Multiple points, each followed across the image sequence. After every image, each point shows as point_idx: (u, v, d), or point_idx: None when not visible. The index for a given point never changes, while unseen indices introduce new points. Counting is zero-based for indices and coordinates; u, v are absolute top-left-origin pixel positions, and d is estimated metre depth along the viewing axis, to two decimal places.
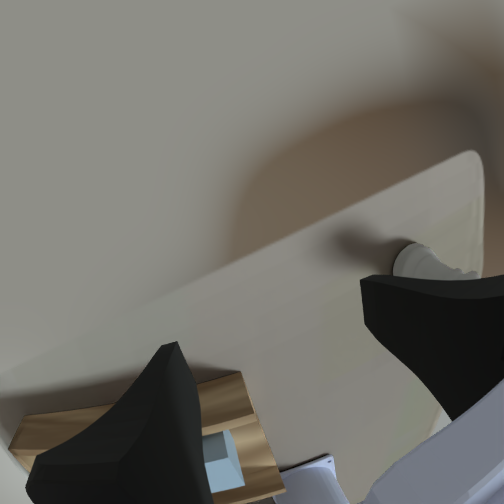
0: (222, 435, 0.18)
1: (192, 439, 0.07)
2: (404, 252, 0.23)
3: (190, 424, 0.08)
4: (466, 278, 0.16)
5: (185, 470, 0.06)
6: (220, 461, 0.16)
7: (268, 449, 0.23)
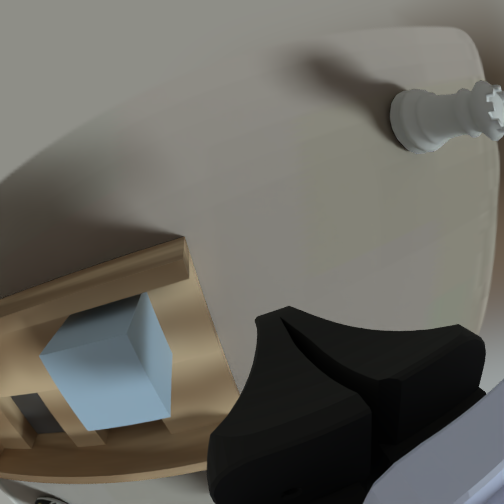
0: (133, 309, 0.11)
1: None
2: (400, 95, 0.16)
3: None
4: (481, 83, 0.10)
5: None
6: (114, 343, 0.09)
7: (229, 380, 0.16)
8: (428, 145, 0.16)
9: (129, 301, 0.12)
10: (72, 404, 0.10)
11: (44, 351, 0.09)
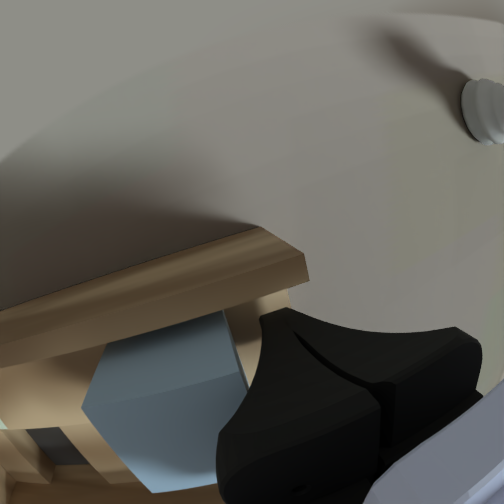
0: (223, 327, 0.08)
1: None
2: (470, 84, 0.13)
3: None
4: None
5: None
6: (217, 386, 0.06)
7: None
8: (500, 137, 0.13)
9: (206, 315, 0.09)
10: (133, 466, 0.06)
11: (88, 399, 0.06)
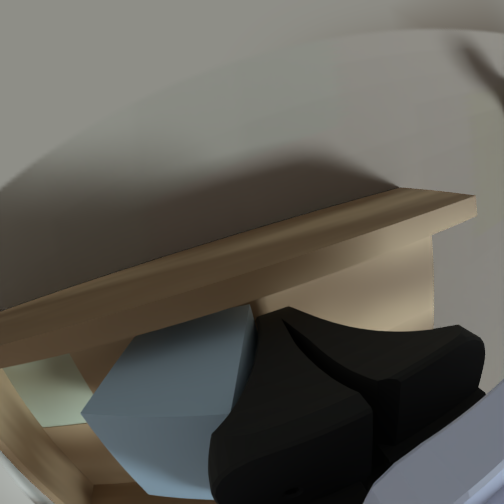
0: (237, 353, 0.07)
1: None
2: None
3: None
4: None
5: None
6: (207, 423, 0.06)
7: None
8: None
9: (227, 333, 0.09)
10: (129, 470, 0.07)
11: (89, 406, 0.06)
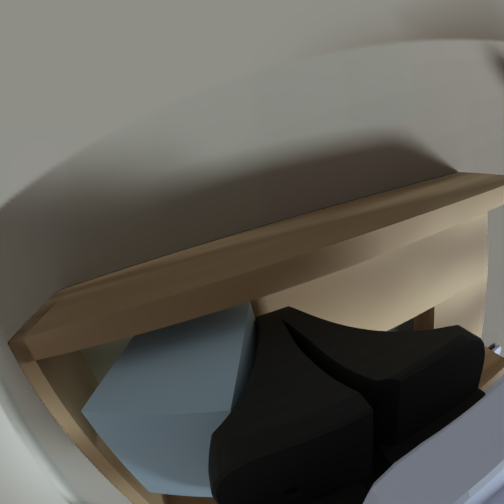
0: (237, 350, 0.07)
1: None
2: None
3: None
4: None
5: None
6: (207, 420, 0.06)
7: (484, 305, 0.15)
8: None
9: (227, 330, 0.09)
10: (130, 468, 0.07)
11: (90, 403, 0.06)
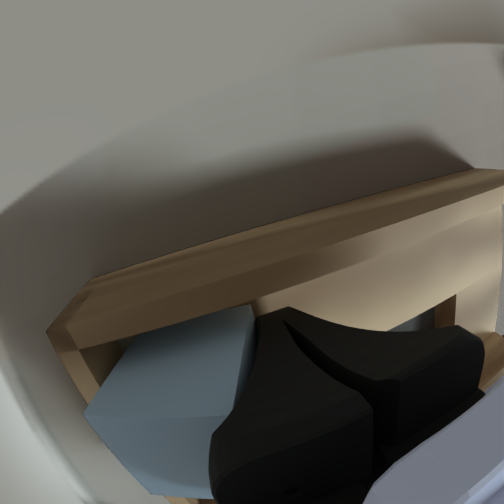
0: (238, 354, 0.07)
1: None
2: None
3: None
4: None
5: None
6: (208, 423, 0.06)
7: (498, 295, 0.15)
8: None
9: (228, 333, 0.09)
10: (131, 470, 0.07)
11: (91, 407, 0.06)
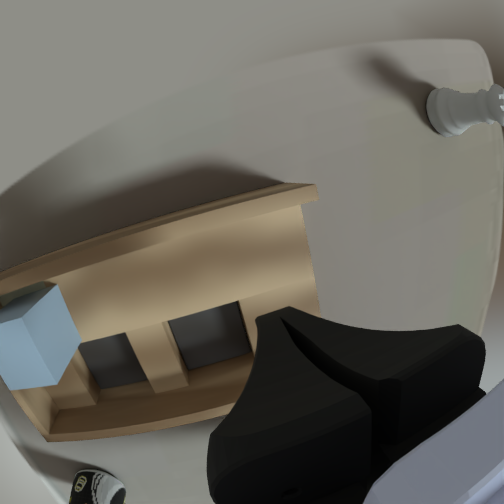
0: (37, 301, 0.13)
1: None
2: (434, 92, 0.20)
3: None
4: (495, 86, 0.14)
5: None
6: (16, 323, 0.11)
7: (317, 306, 0.20)
8: (455, 130, 0.19)
9: (40, 295, 0.14)
10: None
11: None
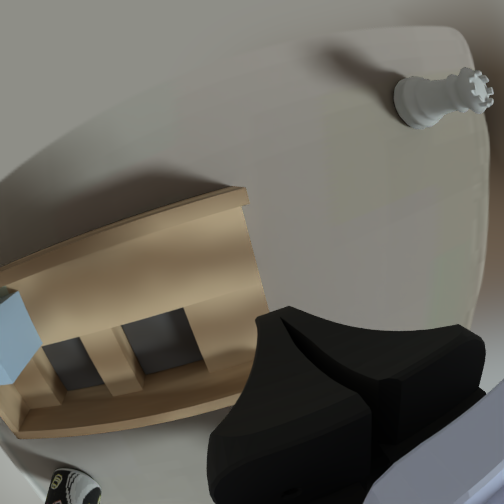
0: None
1: None
2: (402, 82, 0.19)
3: None
4: (466, 69, 0.13)
5: None
6: None
7: None
8: (425, 121, 0.19)
9: (1, 301, 0.14)
10: None
11: None
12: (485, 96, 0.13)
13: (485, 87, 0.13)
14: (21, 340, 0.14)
